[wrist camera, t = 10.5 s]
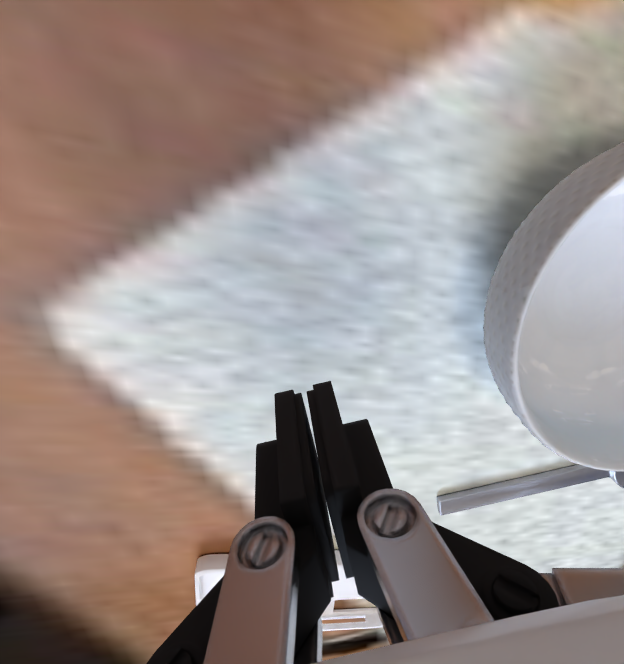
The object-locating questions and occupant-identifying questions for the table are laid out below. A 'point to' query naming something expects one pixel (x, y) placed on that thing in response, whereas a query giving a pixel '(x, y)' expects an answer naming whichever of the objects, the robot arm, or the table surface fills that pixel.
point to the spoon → (523, 487)
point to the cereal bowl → (566, 317)
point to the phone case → (214, 569)
